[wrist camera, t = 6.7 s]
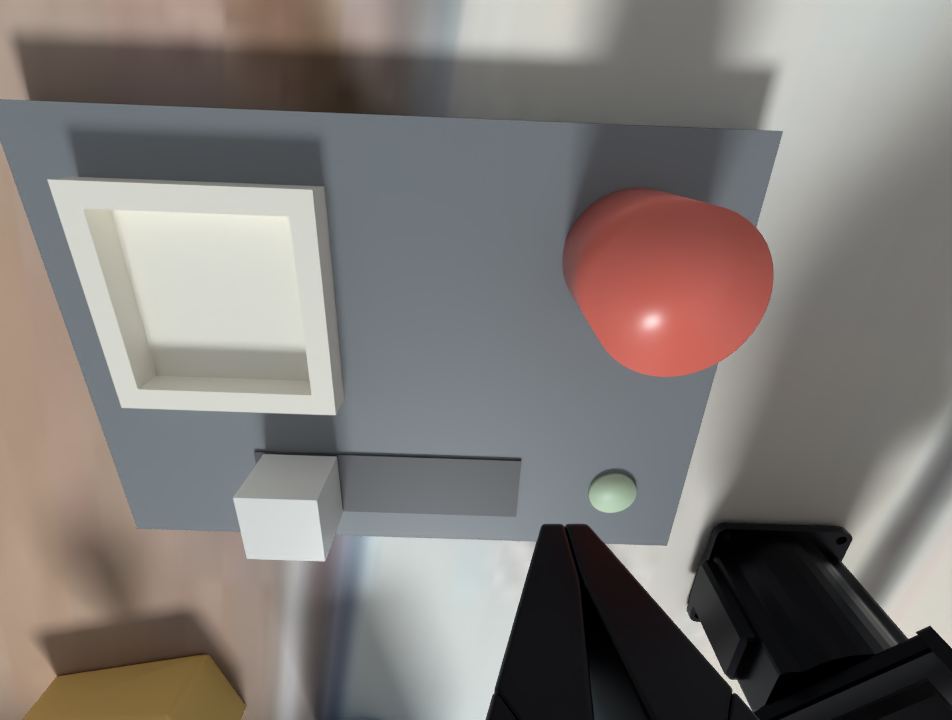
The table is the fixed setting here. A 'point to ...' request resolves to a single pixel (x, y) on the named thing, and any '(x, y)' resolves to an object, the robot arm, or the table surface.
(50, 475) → the table surface
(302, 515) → the block
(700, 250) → the cap
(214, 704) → the rubber stamp
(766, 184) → the breaker panel
